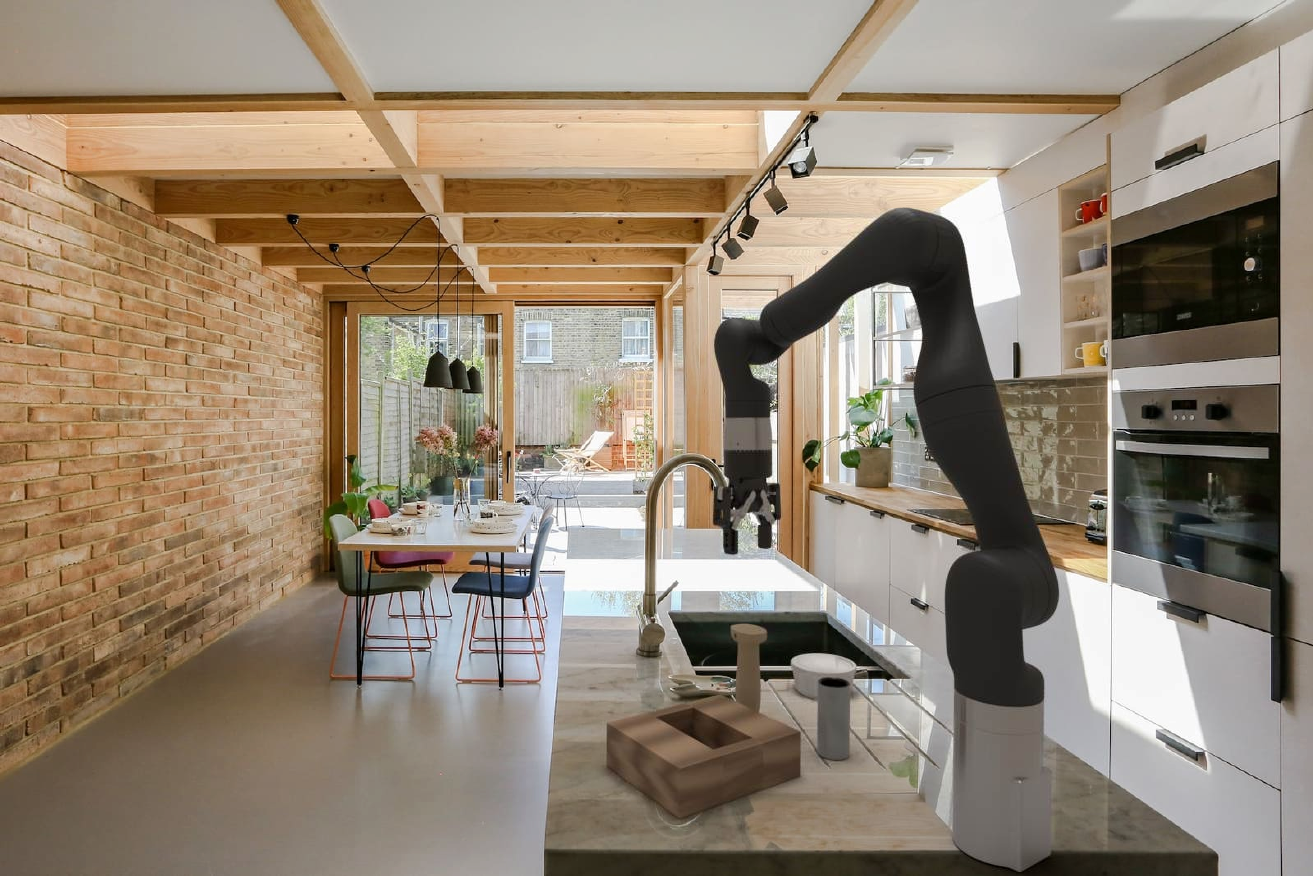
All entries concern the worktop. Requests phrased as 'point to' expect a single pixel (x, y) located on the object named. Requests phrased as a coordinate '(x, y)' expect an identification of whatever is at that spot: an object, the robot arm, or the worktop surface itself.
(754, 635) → the handle
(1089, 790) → the worktop surface
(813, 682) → the ramekin
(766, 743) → the well block
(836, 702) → the grey cylinder
